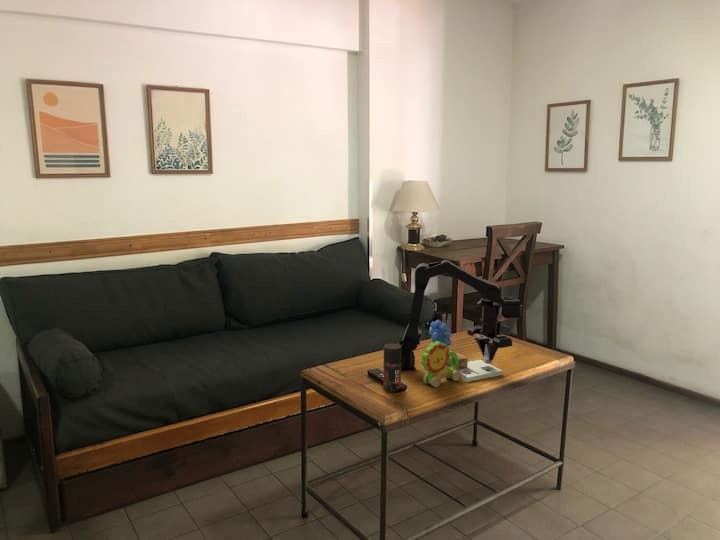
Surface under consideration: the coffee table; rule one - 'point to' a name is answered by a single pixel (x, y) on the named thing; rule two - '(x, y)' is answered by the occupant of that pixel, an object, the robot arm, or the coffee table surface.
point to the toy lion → (439, 364)
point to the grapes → (440, 333)
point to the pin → (486, 355)
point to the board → (478, 371)
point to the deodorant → (392, 367)
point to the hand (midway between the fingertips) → (488, 359)
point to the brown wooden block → (461, 361)
